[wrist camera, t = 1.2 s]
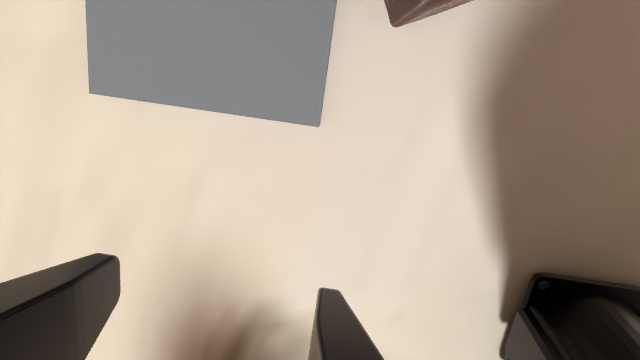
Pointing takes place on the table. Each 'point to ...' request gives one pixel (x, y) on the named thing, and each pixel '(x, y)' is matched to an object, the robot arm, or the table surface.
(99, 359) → the table surface
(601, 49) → the table surface
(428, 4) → the box
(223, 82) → the mat
